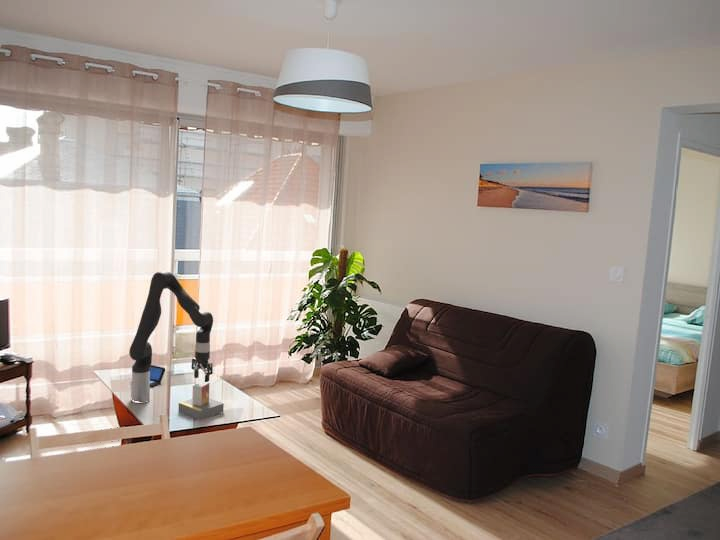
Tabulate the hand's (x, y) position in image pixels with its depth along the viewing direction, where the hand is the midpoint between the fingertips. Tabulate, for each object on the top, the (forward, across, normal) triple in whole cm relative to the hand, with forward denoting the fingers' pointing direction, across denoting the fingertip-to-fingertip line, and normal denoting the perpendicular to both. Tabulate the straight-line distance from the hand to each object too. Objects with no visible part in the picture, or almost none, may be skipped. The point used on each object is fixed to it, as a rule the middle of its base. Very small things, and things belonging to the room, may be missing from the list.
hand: (201, 379), depth 321 cm
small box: (+13, 0, 0) cm, 13 cm away
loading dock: (+18, 0, 0) cm, 18 cm away
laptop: (+19, -60, +9) cm, 64 cm away
